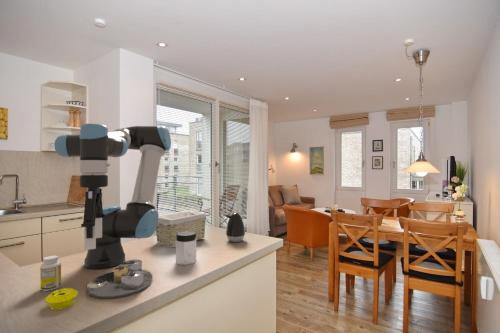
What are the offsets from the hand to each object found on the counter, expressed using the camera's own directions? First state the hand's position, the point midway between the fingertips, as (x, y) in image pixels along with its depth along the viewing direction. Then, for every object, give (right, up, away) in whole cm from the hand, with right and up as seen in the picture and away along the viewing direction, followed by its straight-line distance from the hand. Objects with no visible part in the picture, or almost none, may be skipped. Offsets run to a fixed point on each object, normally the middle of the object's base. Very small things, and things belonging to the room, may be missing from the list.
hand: (94, 243), depth 84 cm
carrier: (+4, -17, +9) cm, 19 cm away
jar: (+21, -17, +31) cm, 41 cm away
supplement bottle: (-18, -17, +6) cm, 26 cm away
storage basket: (+11, -17, +63) cm, 66 cm away
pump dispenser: (+40, -17, +63) cm, 76 cm away
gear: (-7, -17, -4) cm, 19 cm away
